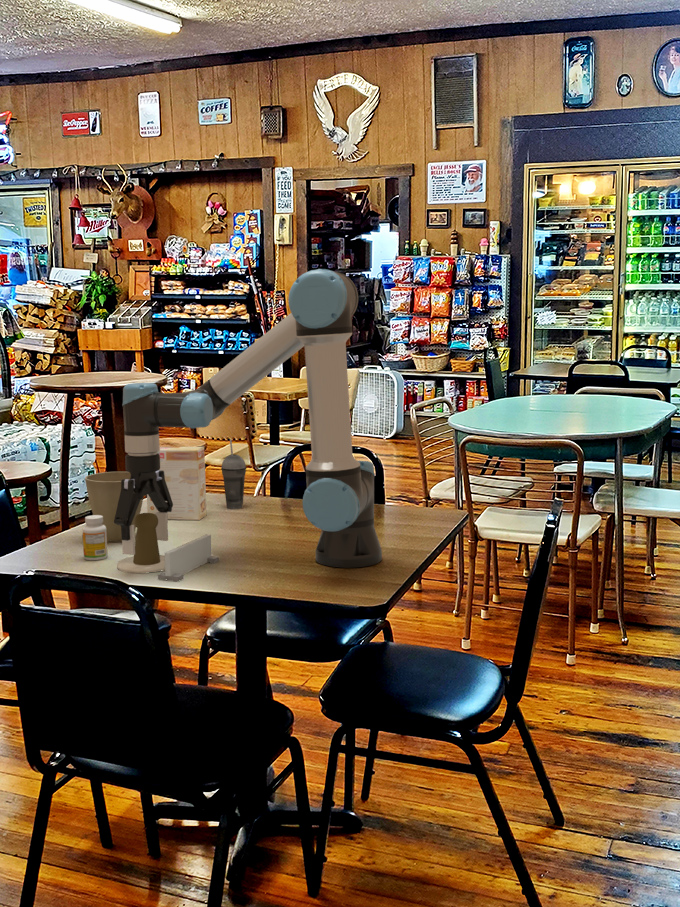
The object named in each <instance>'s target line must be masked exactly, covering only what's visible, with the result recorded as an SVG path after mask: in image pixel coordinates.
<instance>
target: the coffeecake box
mask: <svg viewBox="0 0 680 907" xmlns="http://www.w3.org/2000/svg"><path fill="white" fill-rule="evenodd" d="M157 453H158V454H159V455H160V469H159V470H161V471H164V475H165V481H166V484H167V487H168V490H169V493H170V496H171V499H172V502H173V507H172V511H171V512H167V517H168V518H167V519H168V520H178V521H179V520H180V521H181V520H183V521H184V520H185V521H187V520H188V521H200V520H201V519H203V518H205V517H206V516H207V490H206V487H207V486H206V459H205V458H206V457H205V456H206V455H205V454H206V453H205V446H160V450H159V451H158V452H157ZM146 501H147V502H146V504H147V506H146V507H147V513H153V514H155V512H159V511H158V510H157V509H156V507H155V505H154V504H153V502H152V500H151V499H150V497H149V495H148V494H147V495H146ZM165 502H167V501H165Z"/></svg>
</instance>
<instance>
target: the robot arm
mask: <svg viewBox="0 0 680 907" xmlns="http://www.w3.org/2000/svg"><path fill="white" fill-rule="evenodd" d="M288 293H289V294H288V307H289V310H290V313H289V314H288V315H286V316H285V317H284V318H283V319H282V320H280V321H279V322H278V323H277V324H275V325H274V326H273V327H272V328H271V329H269V330H268V331H267V332H266V333H264V334H263V335H262V336H260V337H259V338H258V339H257V340H256V341H255V342H253V343H252V344H251V345H250V346H248V347H247V348H246V349H244V350H243V351H242V352H241V353H239V355H237V356H236V357H235V358H233V359H232V360H231V361H229V363H227V364H226V365H225V366H223V368H221V369H220V370H219V371H217V372H216V373H215V374H213V376H212V377H210V378H209V379H208V380H207V381H205V382H204V383H203V384H201V385H200V386H199V387H198V388H196V389H193V390H189V391H184V392H159V389H158V385H157V384H156V383H154V382H151V383H150V382H132V383H127V384H126V385H124V387H123V388H122V404H121V405H122V410H123V411H122V413H123V425H124V426H123V428H124V431H123V434H124V452H125V453H127V454H125V455H124V459H125V472H130V474H131V476H130V479H122V481H121V492H120V497H119V501H118V505H117V510H116V514H115V519H114V523H115V524H117V525H121V535H122V536H121V538H122V541H121V546H122V555H129V556H134V555H135V542H136V536H135V532H134V525H131V524H132V521H133V518H134V516H135V513H136V510H137V508H138V505H139V502H140V500H141V499H143V500H144V497H147V494H148V495H149V497H150V499H151V500H152V502H153V504H154V505H155V507H156V509H157V510H158V511H159V512H155V515H156V516H157V517H158V525H157V527H156V533H157V540H158V541H162V542H163V541H164V542H167V541H169V528H168V525H169V524H168V523H169V522H168V521H169V519H167V518H168V517H167V512H171V511H172V507H173V502H172V499H171V496H170V493H169V490H168V487H167V484H166V481H165V475H164V471H161V470H159V469H160V455H159V454H158V453H157V452H158V451H159V450H160V447H161V446H160V430H159V429H160V428H165V427H166V428H188V429H198V428H206V427H207V428H208V427H209V426H210V425H211V422H212V421H213V420H215V419H217V418H218V417H220V416H221V415H223V413H224V412H225V410H226V409H227V408H228V407H229V406H230V405H231V404H233V403H234V402H235V401H236V400H237V399H239V398H240V397H242V396H243V395H244V394H245V393H246V392H248V391H249V390H251V388H252V387H254V386H255V385H257V384H258V383H259V382H261V381H262V380H264V378H265V377H267V376H268V375H270V374H271V373H272V372H273V371H274V370H276V369H277V368H278V367H279V366H281V365H282V364H283V363H285V362H286V361H287V360H289V359H290V358H291V357H292V356H294V355H295V354H296V353H298V351H300V350H301V349H302V348H304V355H305V356H304V358H305V371H306V372H305V373H306V390H307V401H308V402H307V404H308V414H309V415H308V418H309V419H308V420H309V430H310V431H309V432H310V444H311V445H310V448H311V459H310V461H309V463H307V465H306V466H305V479H306V480H305V481H306V489H305V490H304V494H303V496H302V510H303V512H304V515H305V517H306V519H307V520H308V521H309V522H310V523H311V524H312V525H313V526H314V527H315V528H317V529H320V530H321V532H320V536H319V539H318V542H317V544H316V549H315V562H317V563H318V564H320V565H322V566H327V567H332V568H347V569H348V568H350V569H351V568H360V567H361V568H363V567H364V568H365V567H369V566H374V565H376V564H379V563H381V561H382V559H383V556H382V555H383V553H382V552H383V550H382V547H381V543H380V541H379V538H378V534H377V532H376V528H375V477H376V473H375V468H374V467H375V466H374V464H373V462H371V461H369V460H357V459H356V458H355V457H354V456H353V444H352V427H351V413H350V412H351V408H350V395H349V393H350V392H349V377H348V374H349V373H348V362H347V361H348V358H347V344H346V343H347V341H348V340H349V339H350V338H351V336H352V335H353V325H352V323H353V322H352V319H353V318H352V317H353V316H354V314H355V313H356V310H357V307H358V304H359V292H358V290H357V286H356V285H355V283H354V282H353V280H351V278H350V277H348V275H346V274H344V273H342V272H339V271H333V270H330V269H328V268H327V269H326V268H318V269H311V270H309V271H306V272H304V273H302V274H300V276H298V278H297V279H296V280H294V281H293V283H292V285H291V287H290V290H289V292H288ZM165 501H167V502H165ZM127 519H128V520H127Z"/></svg>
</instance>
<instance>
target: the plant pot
mask: <svg viewBox="0 0 680 907" xmlns="http://www.w3.org/2000/svg"><path fill="white" fill-rule="evenodd" d="M130 476H131V474H130V472H128V471H108V472H107V471H105V472H96V473H92V474H88V475H86V476H85V477H84V481H85V486H86V487H85V488H86V492H87V497H88V502H89V505H90V508H91V512H92V515H101V516H103V523H102V525H105V526H106V530H107V542H109V543H110V542H112V543H113V542H115V543H118V542H119V543H120V542H122V538H121V536H122V535H121V525H117V524H115V523H114V519H115V514H116V510H117V505H118V501H119V497H120V492H121V481H122V479H130ZM143 502H144V498H143V499H141V500H140V502H139V505H138V508H137V510H136V513H135V516H134V518H133V521H132V524H131V525H134V533H135V531H136V530H137V527H136V526H135V517H136V516H137V515H138V514H141V511H142V506H143ZM127 520H128V519H127Z"/></svg>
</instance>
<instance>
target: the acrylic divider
mask: <svg viewBox="0 0 680 907" xmlns="http://www.w3.org/2000/svg"><path fill="white" fill-rule="evenodd" d="M212 554H213V553H212V534H207V533H206V534H204V535H202V536H200V537H197V538H195V539H193V540H191V541H188V542H186V543H183V544H182V545H179V546H176V547H173V548H172V549H170V550H168V551H165V552H164V555H165V572H160V573H159V574H157V580H158V579H167V580H166V581H168V580H173V581H172V582H177V581H179V580H181V581H183V580H184V575H185V574H187V573H189V572H191V571H193V570H195V569H197V568H199V567H200V565H201V566H203V565H206V564H207V563H209V562H210V563H211V564H216V563H218V562H219V561H220V556H216V555H215V556H214V555H212ZM206 562H207V563H206ZM182 579H183V580H182ZM179 582H180V581H179Z"/></svg>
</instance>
